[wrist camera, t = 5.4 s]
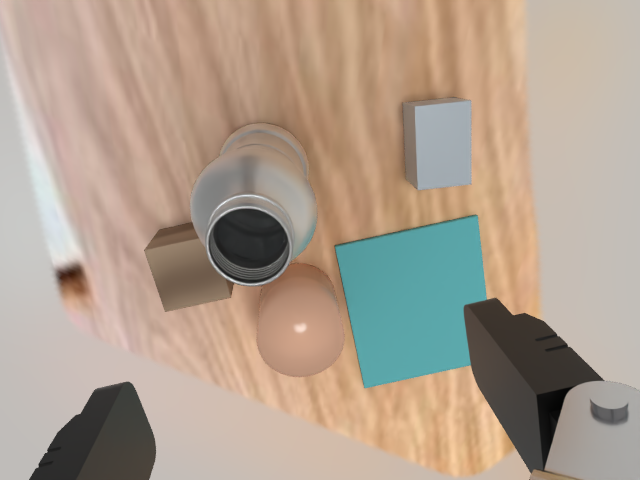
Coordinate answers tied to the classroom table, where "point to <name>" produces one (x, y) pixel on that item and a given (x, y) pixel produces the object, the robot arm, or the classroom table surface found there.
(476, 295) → the teal mat
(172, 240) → the walnut block
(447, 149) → the slate grey box
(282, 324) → the beige domed cylinder
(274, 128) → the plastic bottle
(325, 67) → the classroom table surface
